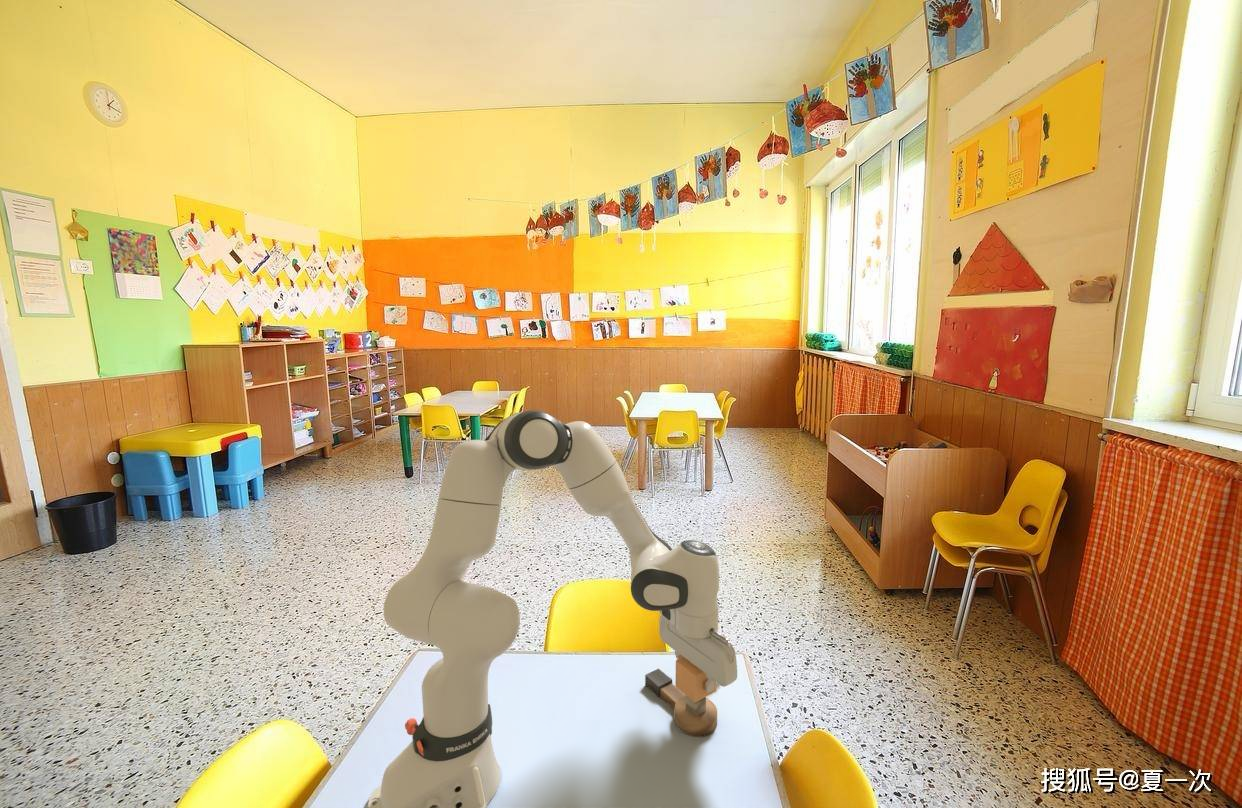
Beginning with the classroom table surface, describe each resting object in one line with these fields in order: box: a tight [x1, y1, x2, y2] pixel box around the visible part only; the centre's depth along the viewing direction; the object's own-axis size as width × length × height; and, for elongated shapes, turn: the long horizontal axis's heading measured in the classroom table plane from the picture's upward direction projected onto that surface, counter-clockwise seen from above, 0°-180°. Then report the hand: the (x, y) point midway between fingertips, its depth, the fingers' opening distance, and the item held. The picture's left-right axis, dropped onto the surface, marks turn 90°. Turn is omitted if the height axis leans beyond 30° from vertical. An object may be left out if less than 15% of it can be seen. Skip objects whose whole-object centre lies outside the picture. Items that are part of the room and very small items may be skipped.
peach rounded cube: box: [674, 657, 717, 703], centre depth 109 cm, size 6×6×6 cm
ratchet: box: [644, 668, 718, 738], centre depth 114 cm, size 9×20×6 cm, turn 35°
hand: (695, 680), depth 109 cm, fingers closed on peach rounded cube, 6 cm apart
